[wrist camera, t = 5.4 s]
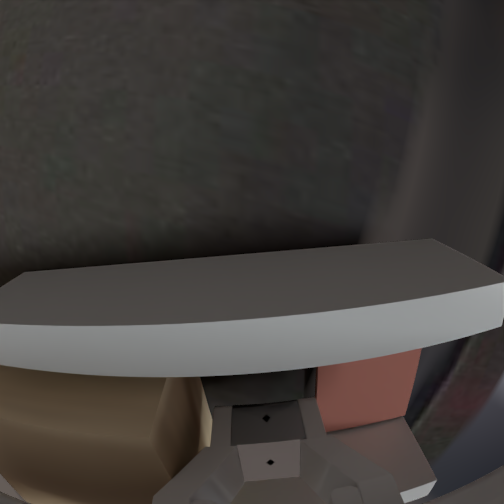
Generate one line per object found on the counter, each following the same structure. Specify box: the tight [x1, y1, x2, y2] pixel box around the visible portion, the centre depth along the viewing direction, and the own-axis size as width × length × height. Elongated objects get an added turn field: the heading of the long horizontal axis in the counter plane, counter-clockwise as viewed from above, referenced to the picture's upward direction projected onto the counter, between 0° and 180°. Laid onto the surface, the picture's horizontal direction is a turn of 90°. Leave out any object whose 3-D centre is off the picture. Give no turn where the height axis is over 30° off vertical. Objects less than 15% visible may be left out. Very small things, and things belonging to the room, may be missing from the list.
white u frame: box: [0, 238, 504, 504], centre depth 9 cm, size 9×14×4 cm, turn 94°
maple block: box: [0, 365, 213, 504], centre depth 8 cm, size 5×7×5 cm
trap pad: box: [315, 348, 421, 432], centre depth 11 cm, size 6×4×1 cm, turn 4°
